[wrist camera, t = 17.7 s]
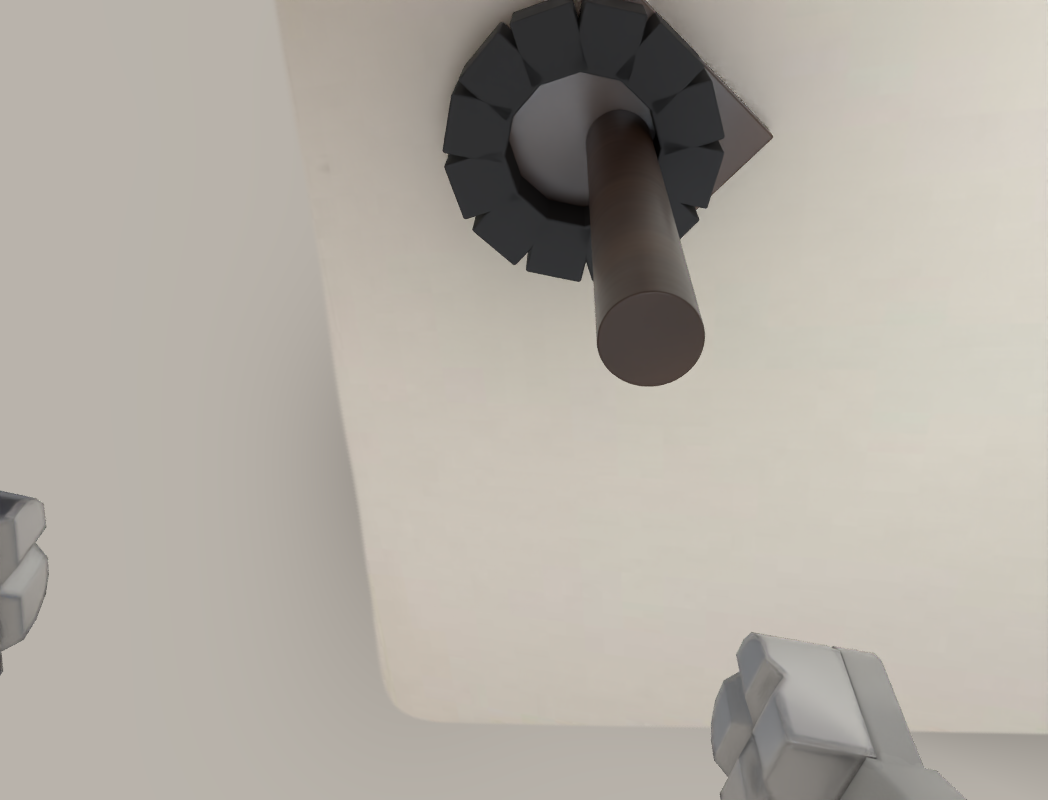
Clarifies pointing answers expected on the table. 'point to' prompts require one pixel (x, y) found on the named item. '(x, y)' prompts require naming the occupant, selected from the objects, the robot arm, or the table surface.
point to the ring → (554, 53)
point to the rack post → (627, 211)
